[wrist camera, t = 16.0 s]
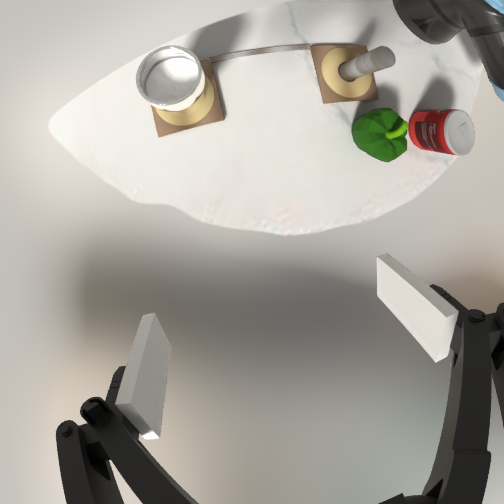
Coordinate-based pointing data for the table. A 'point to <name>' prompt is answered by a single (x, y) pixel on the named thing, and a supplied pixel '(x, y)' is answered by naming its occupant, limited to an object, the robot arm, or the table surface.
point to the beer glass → (172, 80)
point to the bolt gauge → (328, 73)
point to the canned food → (442, 131)
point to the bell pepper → (381, 134)
